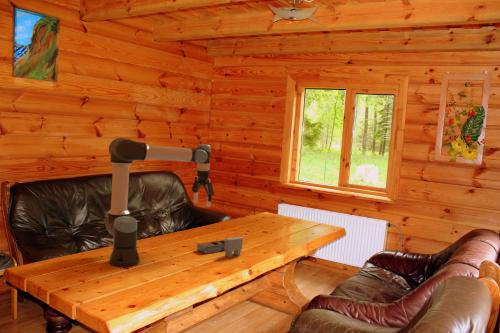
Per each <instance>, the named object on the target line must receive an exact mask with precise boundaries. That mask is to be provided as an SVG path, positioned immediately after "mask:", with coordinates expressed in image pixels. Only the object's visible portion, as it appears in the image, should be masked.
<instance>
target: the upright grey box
mask: <svg viewBox="0 0 500 333" xmlns="http://www.w3.org/2000/svg"><path fill="white" fill-rule="evenodd" d="M243 239H244V238H242V237H240V236H235V237H226V238H224V240H225V244H224V250H225V251H224V252H225V254H224V255H225V256H226V257H228V258H232V257H233V255H235V256H238V257H239V256H241V250H243V241H244V240H243Z"/></svg>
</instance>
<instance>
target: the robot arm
mask: <svg viewBox="0 0 500 333" xmlns="http://www.w3.org/2000/svg"><path fill="white" fill-rule="evenodd" d="M211 148H212V147H211V145H209V144H205V143H204V144H198V146H197V147H186V146H185V147H178V146H167V145H166V146H165V145H154V144H153V145H152V144H147V143H146V142H142V141H136V140H133V139H130V138H126V137H116V138H114V139H113V140H111V141H110V143H109V145H108V152H109V155H110V158H109V160H110V161H109V163H110V164H111V165H112V179H111V181H112V182H111V198H110V200H111V201H110V202H111V203H110V209H109V210H108V211H107V218H106V219H105V222H104V224H105V229H106V231H107V232H108V234H109V235H111V236H112V237H113V245H112V246H113V247H112V248H113V249H112V251H111V254H110V257H109V261H108V262H109V264H110V265H111V266H114V267H122V268H125V267H133V266H137V265H139V263H140V256H139V251H138V248H137V245H138V244H137V242H138V241H137V240H138V227H139V226H138V221H137V219H136V218H135V217H133V216H131V212H130V211H129V210H128V200H129V183H130V182H129V181H130V179H129V178H130V167H131V165H132V164H133V163H134V162H133V161H139V162H140V161H141V162H143V161H146V160H155V161H156V160H157V161H158V160H160V161H171V162H172V161H173V162H189V163H197V166H196V168H197V170H196V176H195V177H194V181H193V184H192V187H191V192H193V204H197V203H199V190H200V189H201V187H204V189H205V193H206V194H207V195H206V205H205V206H206V208H210V207H212V206H211V205H212V197H213V196H215V192H214V188H213V184H212V179H210V178H209V177H210V172H211V171H210V170H211V169H210V168H211V152H212V149H211Z"/></svg>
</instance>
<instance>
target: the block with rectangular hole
mask: <svg viewBox="0 0 500 333" xmlns="http://www.w3.org/2000/svg"><path fill="white" fill-rule="evenodd" d="M224 244H225V239H221V240H216V241H215V240H214V241H209V242H207V241H206V242H201V243H197V244H196V245H197V246H196V251H198V252H199V253H201V254H204V255H207V254H211V253H218V252H225V251H226V250H224Z"/></svg>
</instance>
